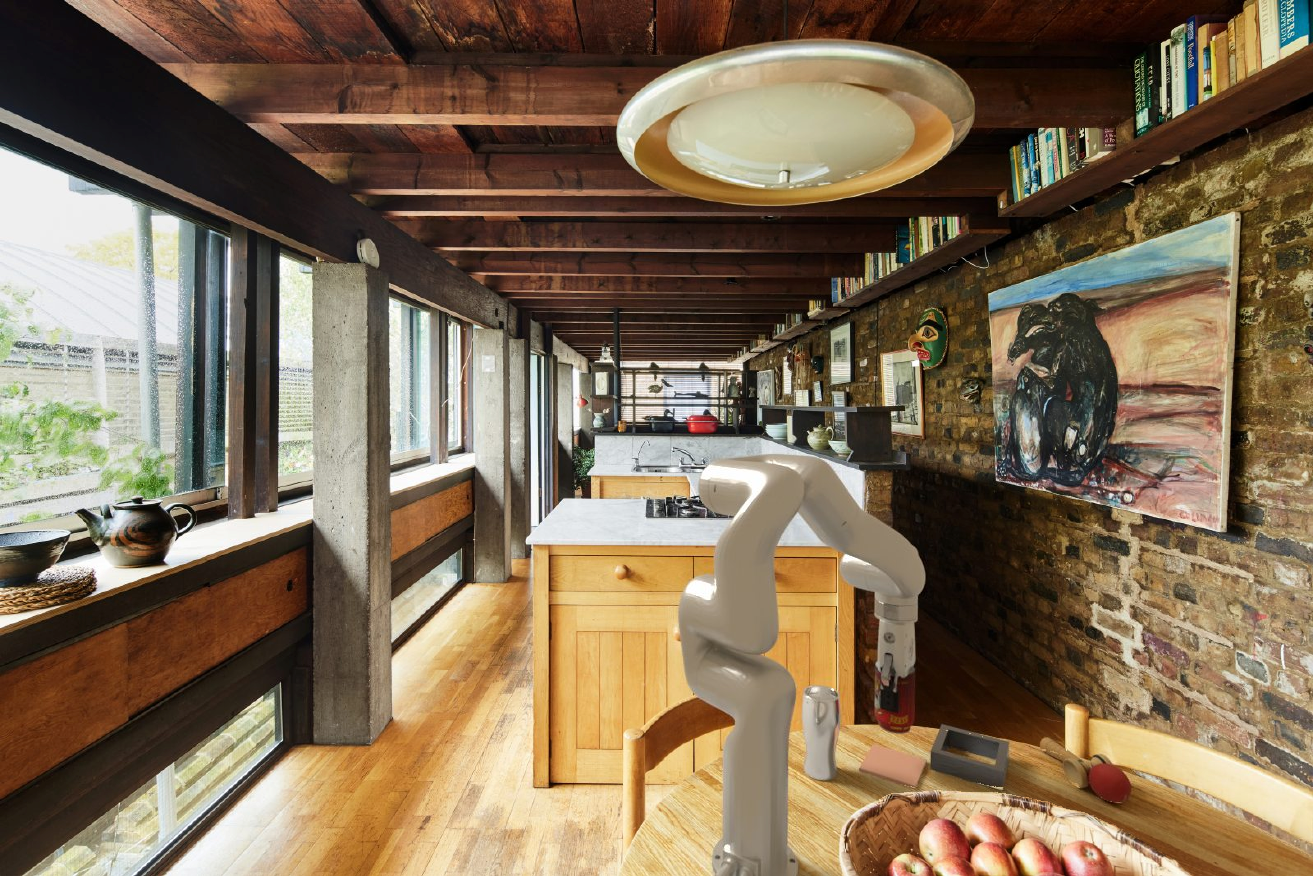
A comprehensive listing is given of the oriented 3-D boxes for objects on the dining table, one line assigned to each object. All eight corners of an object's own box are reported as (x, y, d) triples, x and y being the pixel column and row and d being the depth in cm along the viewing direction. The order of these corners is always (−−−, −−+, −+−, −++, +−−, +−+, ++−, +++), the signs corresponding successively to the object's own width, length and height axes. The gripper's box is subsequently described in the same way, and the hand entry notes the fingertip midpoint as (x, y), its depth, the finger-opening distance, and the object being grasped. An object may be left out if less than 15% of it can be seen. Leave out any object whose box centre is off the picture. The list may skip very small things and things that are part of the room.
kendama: (1025, 761, 121) (1101, 806, 103) (1028, 727, 122) (1104, 767, 104) (1061, 766, 122) (1142, 812, 104) (1064, 733, 123) (1145, 773, 105)
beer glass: (844, 782, 112) (845, 702, 111) (805, 782, 112) (806, 701, 111) (834, 760, 119) (835, 684, 118) (797, 760, 119) (798, 684, 118)
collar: (1003, 791, 109) (1003, 772, 109) (930, 769, 116) (930, 751, 116) (1008, 759, 119) (1009, 741, 119) (941, 740, 126) (941, 724, 126)
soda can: (868, 717, 120) (869, 655, 119) (903, 716, 120) (905, 654, 119) (883, 736, 113) (884, 671, 112) (921, 735, 113) (922, 670, 112)
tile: (915, 789, 110) (915, 786, 110) (858, 771, 115) (859, 768, 115) (926, 762, 118) (926, 759, 118) (873, 746, 124) (873, 743, 124)
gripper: (906, 627, 106) (905, 728, 107) (926, 600, 120) (924, 689, 121) (862, 619, 110) (861, 716, 111) (886, 594, 125) (885, 680, 125)
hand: (894, 701), depth 116 cm, fingers closed on soda can, 7 cm apart
